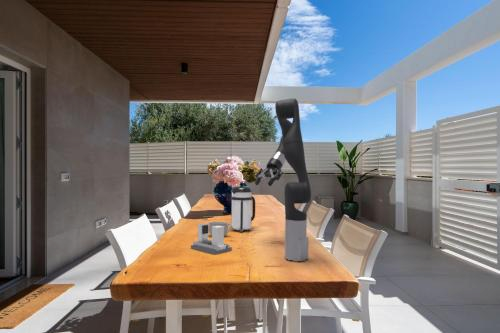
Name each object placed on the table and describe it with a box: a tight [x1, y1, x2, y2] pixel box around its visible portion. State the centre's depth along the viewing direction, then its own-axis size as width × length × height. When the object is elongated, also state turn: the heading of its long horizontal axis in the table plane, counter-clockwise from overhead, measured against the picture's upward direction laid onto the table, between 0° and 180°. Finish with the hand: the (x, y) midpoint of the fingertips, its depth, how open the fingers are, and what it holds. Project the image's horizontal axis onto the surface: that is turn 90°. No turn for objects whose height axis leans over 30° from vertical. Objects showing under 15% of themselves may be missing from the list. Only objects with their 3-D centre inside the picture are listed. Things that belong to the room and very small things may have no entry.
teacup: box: [208, 221, 233, 236], centre depth 199 cm, size 14×11×8 cm
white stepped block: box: [211, 226, 226, 250], centre depth 164 cm, size 6×4×10 cm, turn 47°
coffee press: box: [228, 181, 256, 234], centre depth 218 cm, size 17×16×30 cm
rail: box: [190, 222, 233, 256], centre depth 168 cm, size 17×11×12 cm, turn 48°
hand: (262, 184), depth 179 cm, fingers open, 8 cm apart
